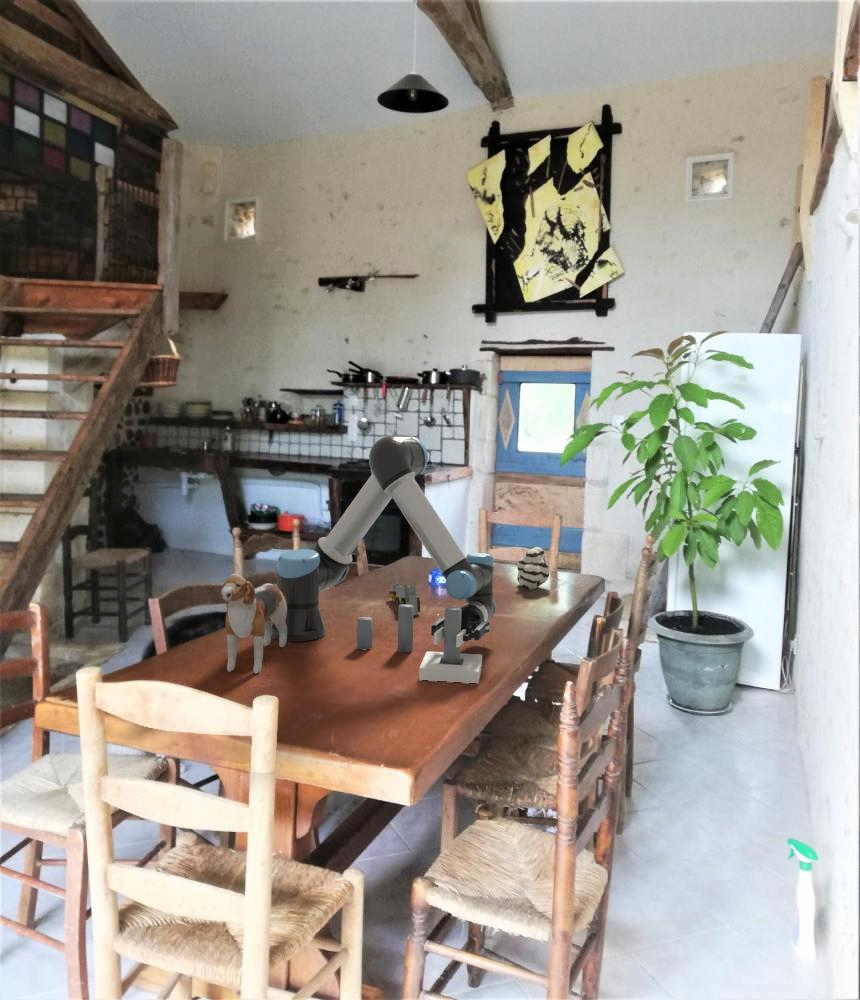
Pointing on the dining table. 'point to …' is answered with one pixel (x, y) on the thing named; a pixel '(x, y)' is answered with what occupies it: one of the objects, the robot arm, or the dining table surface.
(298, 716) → the dining table surface
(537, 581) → the sculpture
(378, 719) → the dining table surface
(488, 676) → the dining table surface
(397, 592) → the toy
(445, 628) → the tall dowel
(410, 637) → the medium dowel
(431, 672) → the block
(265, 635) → the dog model
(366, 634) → the short dowel
